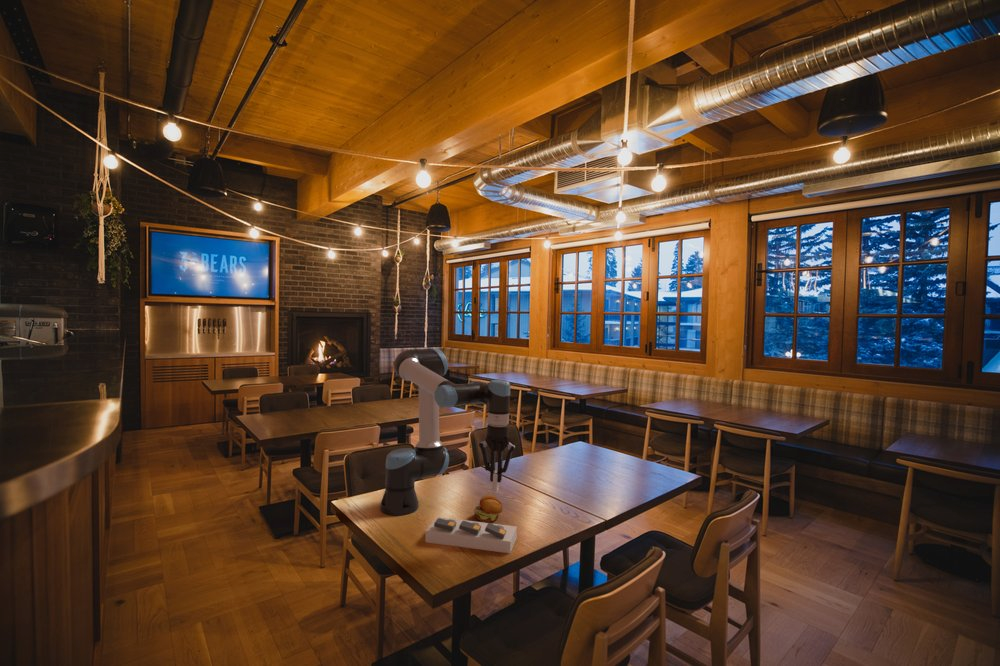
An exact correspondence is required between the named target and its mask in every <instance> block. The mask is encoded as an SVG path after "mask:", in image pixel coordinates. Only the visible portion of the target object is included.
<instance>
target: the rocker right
mask: <svg viewBox="0 0 1000 666" xmlns="http://www.w3.org/2000/svg"><path fill="white" fill-rule="evenodd" d="M487 523H488V524H487V526H486V528H485V531H486V532H488V533H490V534H492V535H494V536H497V537H499V538H501V539H503V538H504V536H505V534H506V530H504V529H502V528H500V527H498V526H496V525H493V524H494V523H492V524H491V522H487Z"/></svg>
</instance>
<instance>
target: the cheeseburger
mask: <svg viewBox="0 0 1000 666" xmlns="http://www.w3.org/2000/svg"><path fill="white" fill-rule="evenodd" d="M473 512H474V516H475V518H476V519H477V520H478V521H479V522H483V523H491V522H495V521H497V520H498V517H499V516H500V515H501V513H503V503H502V502H501V501H500V500H499V499H498V498H497V496H495V495H492V494H486V495H484V496H482V497H481V498H480V499H479V504H478V505H477V506H475V507H474V511H473Z"/></svg>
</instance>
